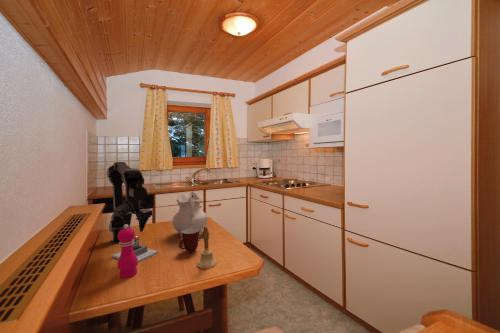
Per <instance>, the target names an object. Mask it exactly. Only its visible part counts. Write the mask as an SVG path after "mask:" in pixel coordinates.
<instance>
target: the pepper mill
mask: <svg viewBox="0 0 500 333" xmlns="http://www.w3.org/2000/svg"><path fill="white" fill-rule="evenodd" d="M128 227H129V226H128V225H127V224H125V225H124V226H123V228H124V229H122V230H120V231H119V233H118V239H119V240H120V242H119V243H118V244H119V246H120V252H121V255H120V258H119V259H117V265H116V266H117V267H116V268H117V269H118V270H119V271H118V272H119V273H118V276H119V278H121V279H131V278H132V277H135V276H136V275H137V274H138V268H137V266H138V265H139V263H138V259H137V256H136V255H135V253H134V250H133V244H134V239H133V238H134V236H135V235H136V231H135V230H134V229H133V228H132V227H130V228H128Z"/></svg>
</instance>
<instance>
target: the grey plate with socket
mask: <svg viewBox="0 0 500 333" xmlns="http://www.w3.org/2000/svg"><path fill="white" fill-rule="evenodd" d="M134 253H135V255H136V256H137V259H138V264H139V263H141V262H143V261H145V260H148V259H149V258H151V257H153V256H155V255H157V254H159V251H158V250H155V249H151V248H148V246H147V245H142V244H139V249H137V250H134ZM120 255H121V251H119V252H117V253H114V254H112V258H114V259H117V260H119V258H120Z"/></svg>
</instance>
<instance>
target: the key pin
mask: <svg viewBox="0 0 500 333" xmlns="http://www.w3.org/2000/svg"><path fill="white" fill-rule="evenodd" d="M133 239H134V244H133V250H137V249H139V245H140V235H139V234H135V236H134V238H133Z"/></svg>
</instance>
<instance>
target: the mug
mask: <svg viewBox="0 0 500 333" xmlns="http://www.w3.org/2000/svg"><path fill="white" fill-rule="evenodd" d="M181 234H182V237H181V240H180V241H179V244H178V247H179V249H180V250H185V251H186V253H189V254H192V253H195V252H196V251H197V249H198V246H199V240H200V236H199V230H198V229H196V228H190V229H185V230H183V231H182V233H181Z"/></svg>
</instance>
